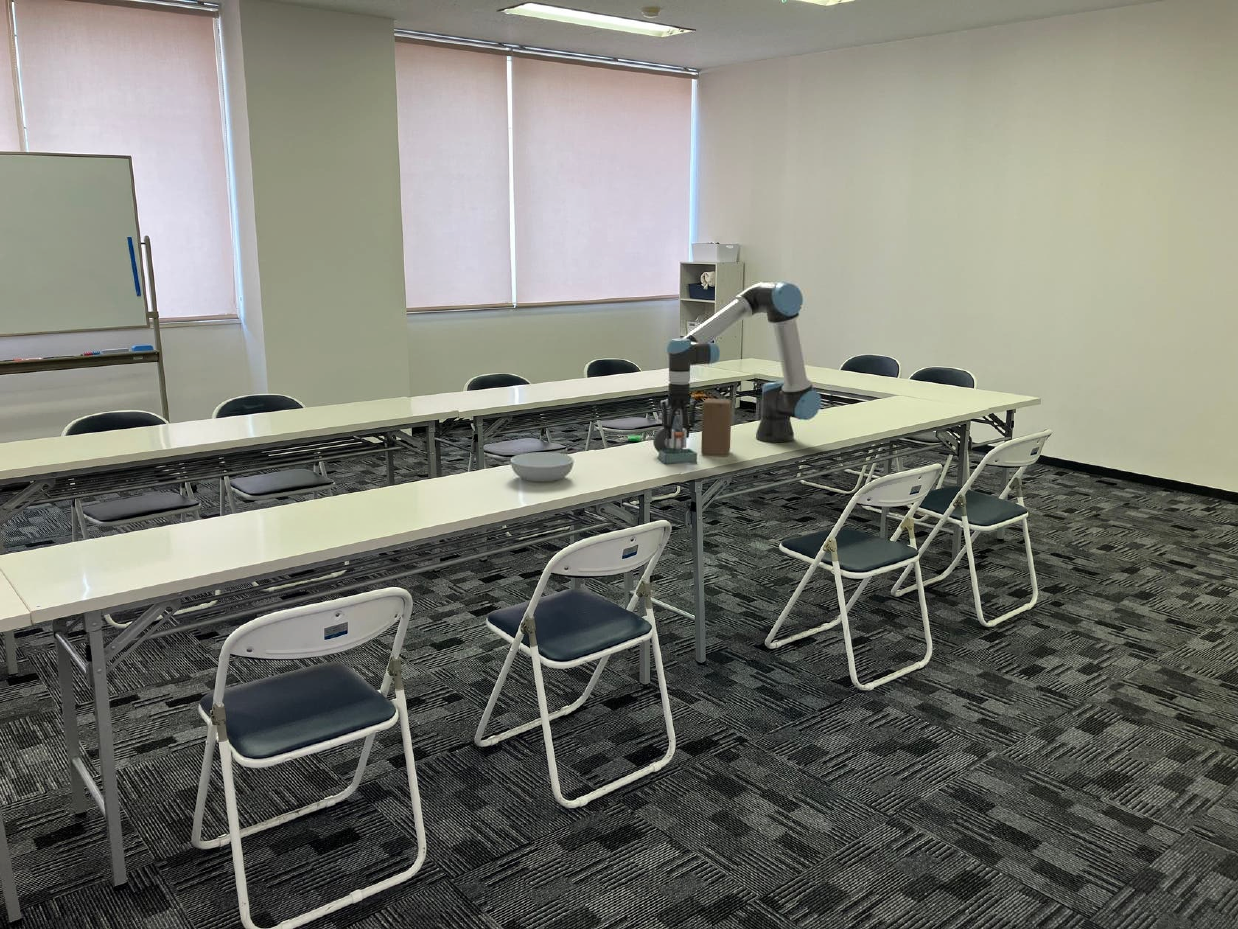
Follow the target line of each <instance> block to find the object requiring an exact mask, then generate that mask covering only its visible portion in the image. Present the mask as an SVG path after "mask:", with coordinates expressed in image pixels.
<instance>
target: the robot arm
mask: <svg viewBox="0 0 1238 929" xmlns="http://www.w3.org/2000/svg"><path fill="white" fill-rule="evenodd" d="M803 301H804V300H803V293H802V291H801V290H800V288H799V287H798V286H797V285H796V284H793V283H790V282H786V281H781V282H780V281H760V282H756V283H755V284H753V285H751V286H749V287H747V288H746V289H744V290H743V291H741V292H740V293H738V294H737V295H736V296H734V297H733V301H732V302H730V303H729V304H728V305H726V306H724V307H723V308H722V309H721V310H719V311H717V313H715V314H713V315H712V316H711V317H710V318H708V319H707V320H706V321H704V322H703V323H701V324H700V325H698V326H697V327H696V328H694V329H693V330H691V331H690V332H689V333H687V334H685V335H684V336H683V337H682V338H679V337H678V338H672V339H670V341H669V342H668V344H667V347H666V352H667V354H668V382H669V383H668V389H667V390H668V391H667V392H668V396H667V398H666V399H664V400H660V402H659V404H660V407H661V411H662V419H661V428H662V427H663V428H665V429H667V438H668V439H670V441H669V447H670V448H674V430H672V427H673V422H674V418H675V413H676V412H678V411H677V410H679V409H680V411H681V415H682V421H683V427H684V428H682V431H681V432H682V433H683V436H682V447H683V449H687V439H689V437H690V430H691V429H692V428H695V426H696V425H695V420H696V406H697V405H698V400H696V399H694V398H692V397H691V396H690V393H691V392H690V389H691V388H690V387H691V384H690V382H691V366H694V365H695V366H696V365H697V366H698V365H700V366H701V365H711V364H715V363H718V361H719V359H720V355H721V354H720V353H721V352H720V351H721V350H720V348H719V346H718V344H717V343H715V342H713V341H715V340H716V339H718V337H720V336H722V335H723V334H725V332H727V331H728V330H730V329H731V328H732V327H734V326H735V325H737V324H738V323H740V322H741V321H742V320H744V319H749V318H751V317H753V316H755V315H757V314H760V313H765V314H766V317H767V321H768V323H769V324H771V325H772V327H773V330H774V336H775V340H776V341H775V342H776V346H777V351H778V356H779V361H780V366H781V371H782V377H783V381H775V382H766V383H764V384H763V385H762V390H761V391H762V392H761V411H760V412H761V415H760V421H759V424H758V426H757V430H756V433H755V439H756V440H758V441H762V442H767V443H787V442H792V441H794V440H795V432H794V430H793V425H792V422H791V418H794V419H797V420H800V421H801V420H803V421H804V420H805V421H810V420H812V419H814V418H815V416H817V414H818V413H819V411H820V409H821V406H822V397H821V394H819V392H817V391H816V390H814V387H813V383H812V381H811V380H810V379H808V376H807V371H806V367H805V363H804V362H805V361H804V356H803V351H802V346H801V340H800V334H799V330H798V324H797V319H798V318H799V316H800V313H799V312H800V311H801V309H802V305H803V304H804V302H803ZM688 404H689V405H690V406H689V416H688V408H687V407H688ZM668 405H669V406H670V409H669V411H670V415H669V420H668V424H667V411H668ZM688 417H689V418H688Z"/></svg>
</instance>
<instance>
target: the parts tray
mask: <svg viewBox="0 0 1238 929" xmlns="http://www.w3.org/2000/svg"><path fill="white" fill-rule="evenodd" d="M658 461H660V462H661V463H663V464H664V465H678V464H692V463H696V464H697V462H698V452H696V451H694V450H693V449H691V448H683V449H681V453H680V454H674V449H672V450H659V452H658Z"/></svg>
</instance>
